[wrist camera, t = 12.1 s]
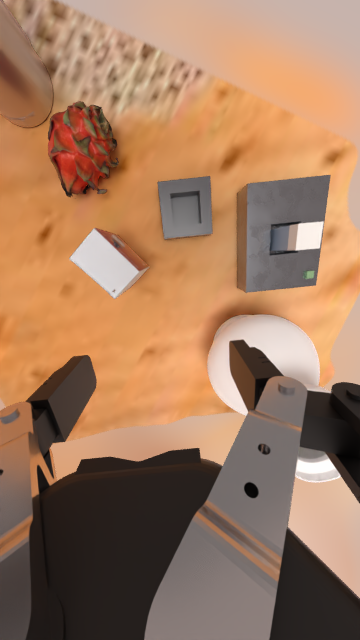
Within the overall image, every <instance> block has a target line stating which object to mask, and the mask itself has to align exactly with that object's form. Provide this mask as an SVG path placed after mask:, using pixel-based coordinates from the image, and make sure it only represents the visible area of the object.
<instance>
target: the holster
mask: <svg viewBox="0 0 360 640" xmlns="http://www.w3.org/2000/svg"><path fill="white" fill-rule="evenodd" d="M158 190H159V199H160V207H161V216H162V224H163V233H164V239H165V240H168V239H177V238H186V237H196V236H205V235H211V234H212V210H211V185H210V176H207V177H198V178H189V179H180V180H170V181H161V182H158Z"/></svg>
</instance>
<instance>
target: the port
mask: <svg viewBox="0 0 360 640" xmlns="http://www.w3.org/2000/svg"><path fill="white" fill-rule="evenodd" d="M329 182H330V175H324V176H315V177H306V178H296V179H287V180H278V181H269V182H259V183H250V184H247V185H246V186H245V187H244V188H242V189H241V190H240V191H239V192H238V193H237V288H239V289H241V290H242V291H244V292H246V293H247V292H257V291H266V290H276V289H286V288H295V287H305V286H314V285H316V280H317V273H318V265H319V258H320V250H321V243H322V237H321V243H320V248H318V249H306V250H285V251H270V233H271V230H272V229H277V228H281V227H286V226H290V225H295V224H300V223H312V222H323V221H324V220H325V213H326V205H327V197H328V190H329ZM323 228H324V223H323ZM322 235H323V230H322Z"/></svg>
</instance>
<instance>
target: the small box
mask: <svg viewBox="0 0 360 640" xmlns="http://www.w3.org/2000/svg"><path fill="white" fill-rule="evenodd" d="M69 259H70V260H71V261H72V262H74V263H75V264H76V265H77V266H78V267H80V268H81V269H82V270H83V271H84V272H85V273H87V274H88V275H89V276H90V277H91V278H92V279H93V280H94V281H96V282H97V283H98V284H99V285H100V286H101V287H102V288H103V289H105V290H106V291H107V292H108V293H109V294H110V295H111V296H112V297H113V298H114V299H116V298H117V297H118V296H120V295H121V294H122V293H124V292H125V291H126V290H128V289H129V288H130V287H131V286H132V285H133V284H134V283H135V282H136V281H137V280H138V279H139V278H140V277H141V276H142V275H143V274H144V273H145V271H146V270H147V269H148V268H149V265H148V264H146V263H145V262H144V261H143V260H142V259H141V258H140V257H139V256H138V255H137V254H136V253H135V252H134V251H133V250H132V249H131V248H130V247H129V246H128V245H127V244H126V243H125V242H124V241H123V240H122V239H121V238H120V237H119V236H118V235H116V234H113V233H110V232H106V231H103V230H100V229H97V228H94V229H93V230H92V231H91V232H90V234H89V235H88V236H87V237H86V238H85V240H84V241H83V242H82V243H81V245H80V246H79V247H78V248H77V249H76V251H75V252H74V253H73V254H72V256H71V257H70V258H69Z"/></svg>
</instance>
